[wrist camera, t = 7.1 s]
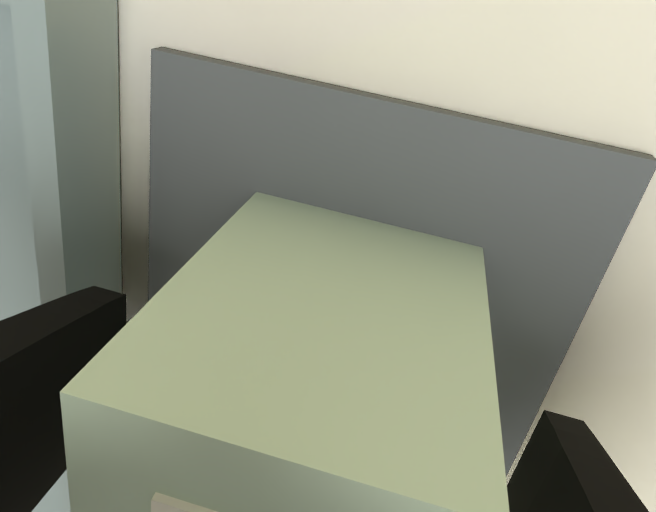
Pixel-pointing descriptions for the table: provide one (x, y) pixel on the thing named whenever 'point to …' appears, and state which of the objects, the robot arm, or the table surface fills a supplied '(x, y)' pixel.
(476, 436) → the pale green box
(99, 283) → the tray
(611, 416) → the table surface
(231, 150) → the mat
